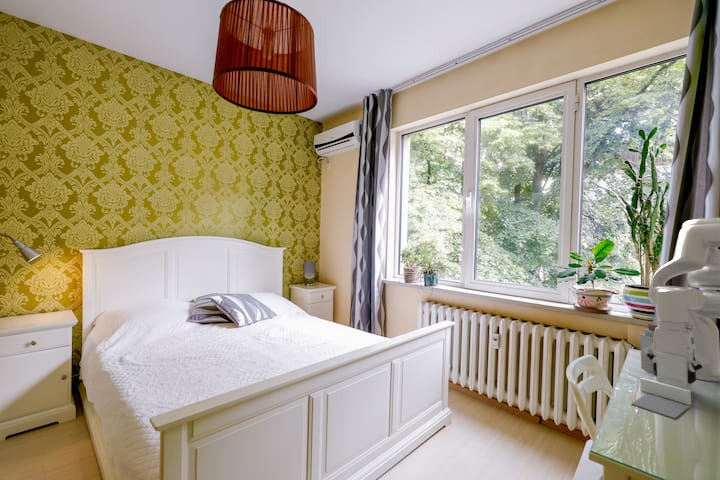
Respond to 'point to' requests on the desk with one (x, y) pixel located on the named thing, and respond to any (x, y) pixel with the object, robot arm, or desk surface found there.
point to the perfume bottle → (646, 341)
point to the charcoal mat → (661, 406)
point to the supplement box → (672, 370)
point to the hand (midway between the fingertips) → (674, 378)
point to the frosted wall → (666, 390)
